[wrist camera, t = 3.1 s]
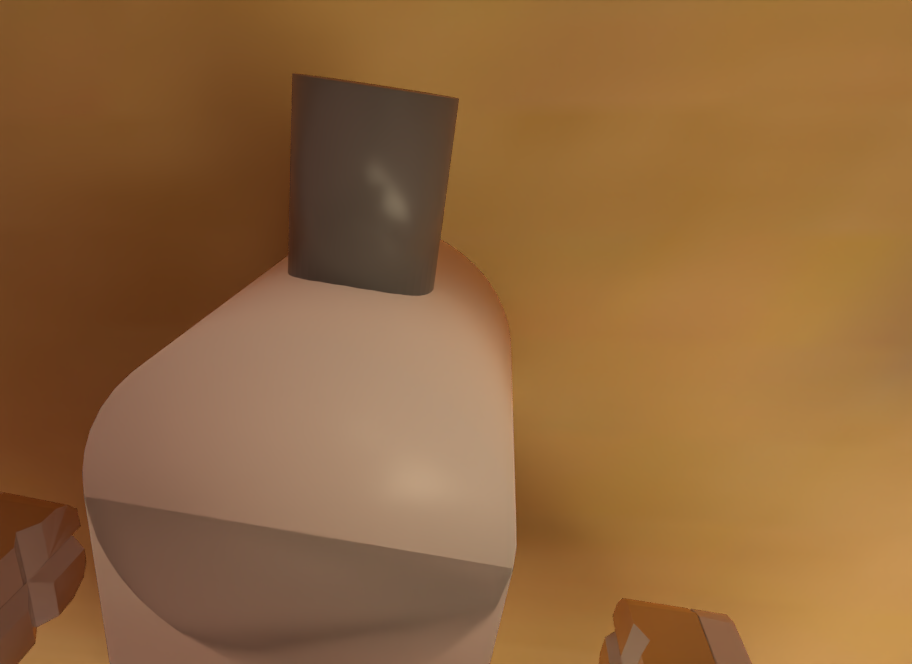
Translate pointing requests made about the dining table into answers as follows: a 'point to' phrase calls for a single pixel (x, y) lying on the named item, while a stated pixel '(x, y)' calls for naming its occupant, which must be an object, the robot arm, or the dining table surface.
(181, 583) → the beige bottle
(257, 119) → the dining table surface
